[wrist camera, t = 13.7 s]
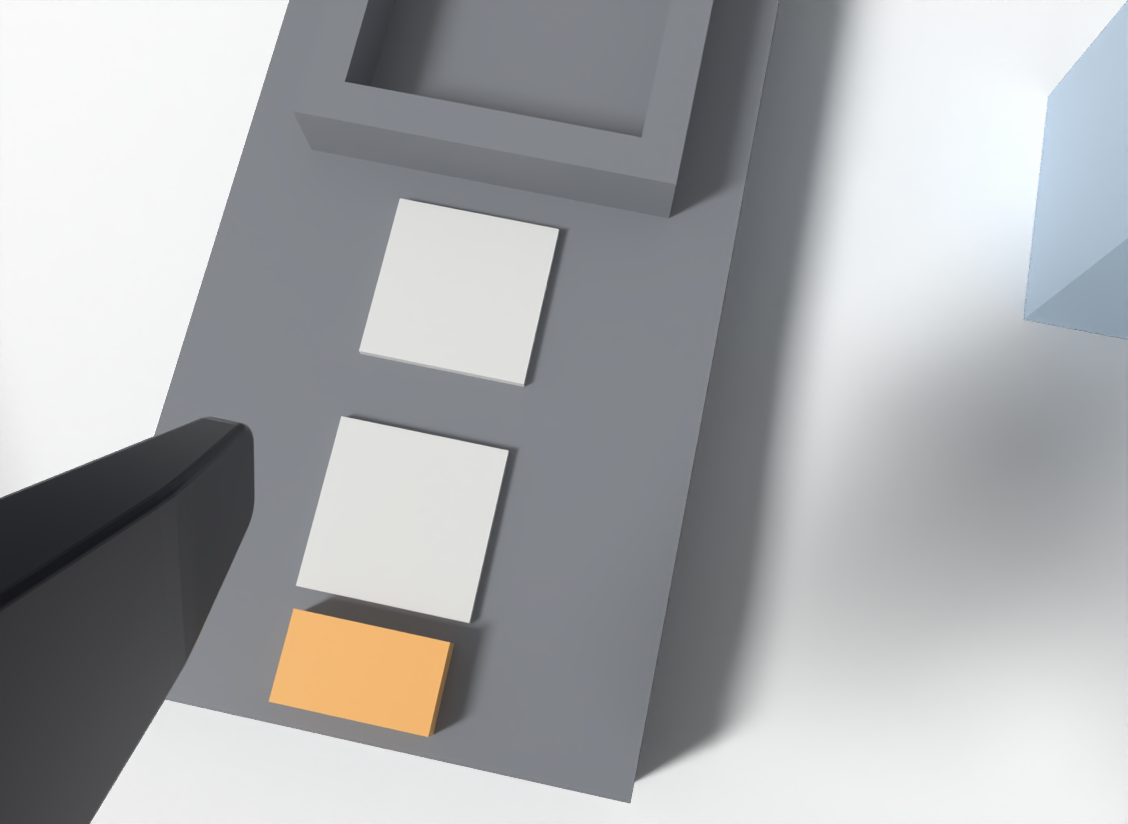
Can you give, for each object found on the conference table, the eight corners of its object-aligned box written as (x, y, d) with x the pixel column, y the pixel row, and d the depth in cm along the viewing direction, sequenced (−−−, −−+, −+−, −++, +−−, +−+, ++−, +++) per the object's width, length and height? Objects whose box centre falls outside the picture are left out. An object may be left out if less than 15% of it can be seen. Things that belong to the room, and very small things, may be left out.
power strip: (623, 788, 21) (635, 814, 17) (134, 679, 21) (37, 680, 17) (785, -75, 25) (823, -210, 22) (380, -146, 26) (346, -290, 22)
